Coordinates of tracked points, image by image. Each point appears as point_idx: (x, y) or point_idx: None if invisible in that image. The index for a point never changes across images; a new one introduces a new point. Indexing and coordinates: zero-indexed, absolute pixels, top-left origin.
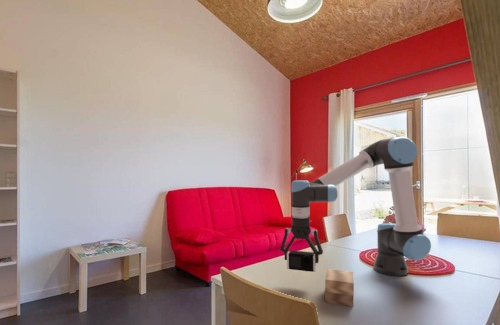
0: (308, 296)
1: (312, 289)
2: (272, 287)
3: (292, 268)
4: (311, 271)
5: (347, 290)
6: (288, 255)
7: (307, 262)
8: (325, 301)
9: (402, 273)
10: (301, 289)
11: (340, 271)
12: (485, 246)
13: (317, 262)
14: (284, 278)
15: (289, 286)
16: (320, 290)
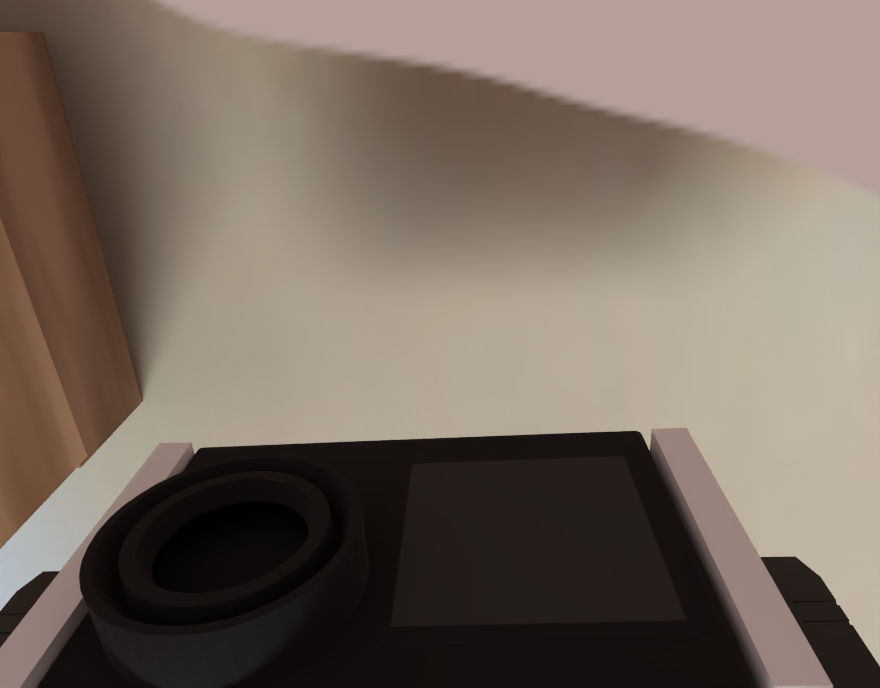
0: (282, 111)
1: (299, 335)
2: (815, 191)
3: (579, 441)
4: (231, 447)
5: None
6: (750, 634)
7: (251, 548)
8: (32, 33)
9: None
10: (422, 284)
11: None
12: None
13: (38, 584)
14: None
15: (588, 312)
16: (207, 344)
